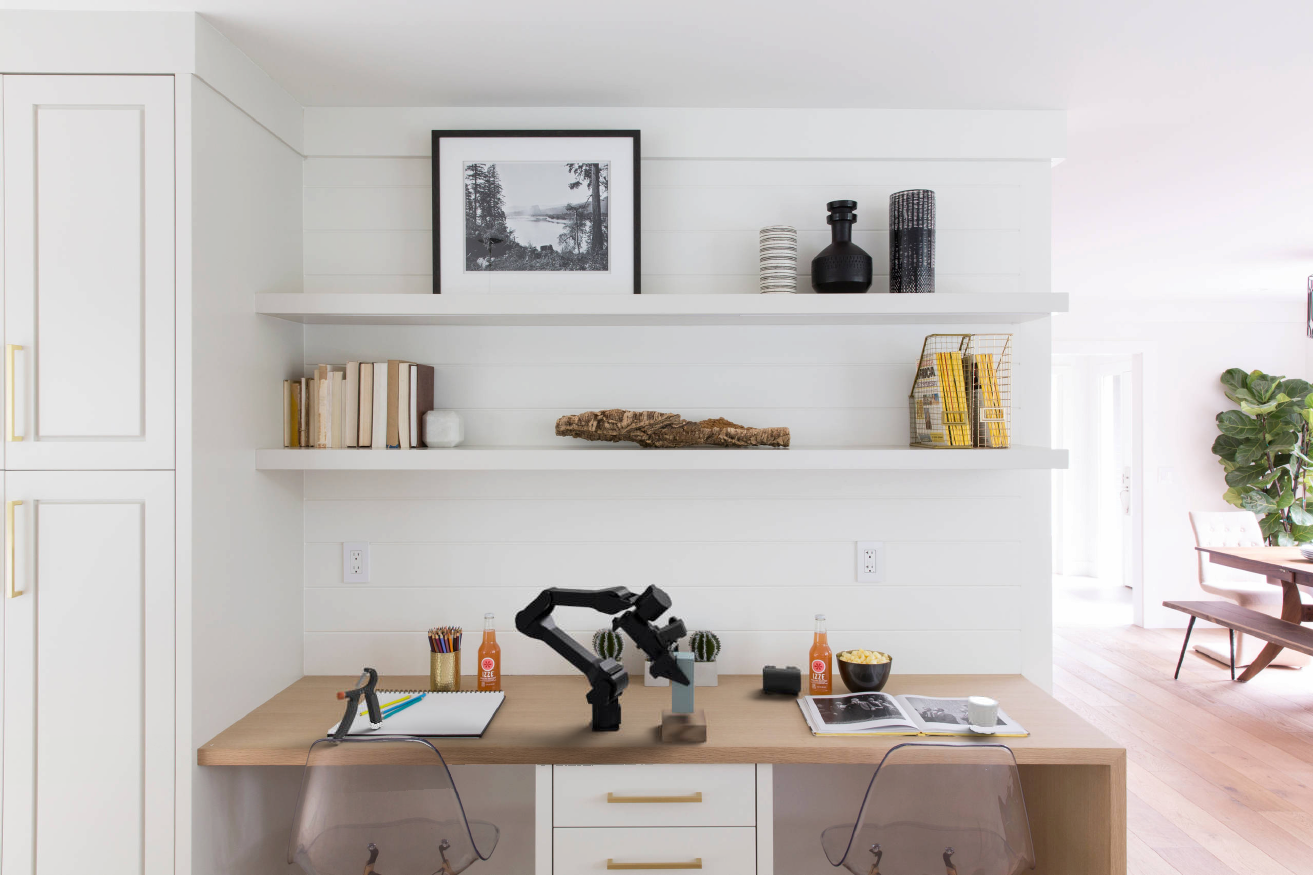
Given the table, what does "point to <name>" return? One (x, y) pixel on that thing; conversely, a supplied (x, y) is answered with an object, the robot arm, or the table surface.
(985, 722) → the white cylinder
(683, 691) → the pillar
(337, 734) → the hand grip strengthener
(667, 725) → the walnut block
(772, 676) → the black rounded block
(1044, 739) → the table surface
